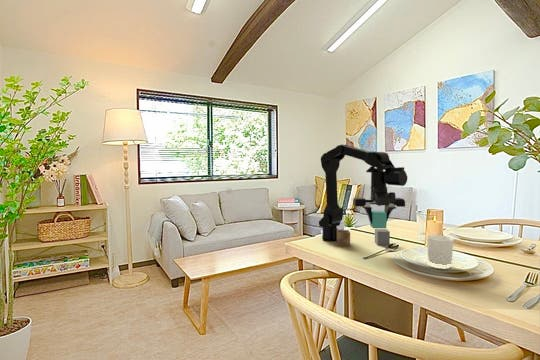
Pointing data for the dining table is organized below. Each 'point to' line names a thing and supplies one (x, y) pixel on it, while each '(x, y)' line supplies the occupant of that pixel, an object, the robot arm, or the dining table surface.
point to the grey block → (382, 237)
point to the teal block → (379, 219)
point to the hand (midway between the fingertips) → (378, 223)
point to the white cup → (440, 249)
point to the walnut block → (343, 238)
